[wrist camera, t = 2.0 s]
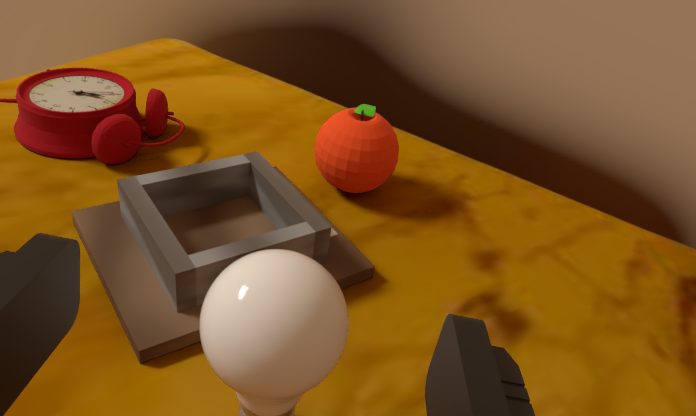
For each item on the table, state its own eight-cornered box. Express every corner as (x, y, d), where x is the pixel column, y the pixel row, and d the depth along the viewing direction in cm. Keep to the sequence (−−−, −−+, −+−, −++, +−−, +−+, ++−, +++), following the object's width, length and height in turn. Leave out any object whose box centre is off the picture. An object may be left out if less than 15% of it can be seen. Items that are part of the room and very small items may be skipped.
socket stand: (275, 176, 49) (278, 134, 47) (372, 277, 40) (382, 231, 38) (73, 223, 41) (65, 174, 39) (140, 363, 32) (134, 311, 30)
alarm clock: (53, 57, 55) (195, 57, 50) (75, 119, 58) (210, 124, 54) (-36, 98, 46) (125, 102, 42) (-5, 168, 49) (148, 178, 45)
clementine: (327, 152, 54) (336, 80, 50) (399, 171, 53) (415, 99, 49) (299, 196, 47) (307, 117, 43) (381, 218, 46) (398, 139, 42)
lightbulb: (351, 452, 29) (389, 291, 23) (235, 517, 26) (244, 350, 20) (288, 363, 33) (306, 206, 27) (180, 410, 30) (173, 242, 24)
